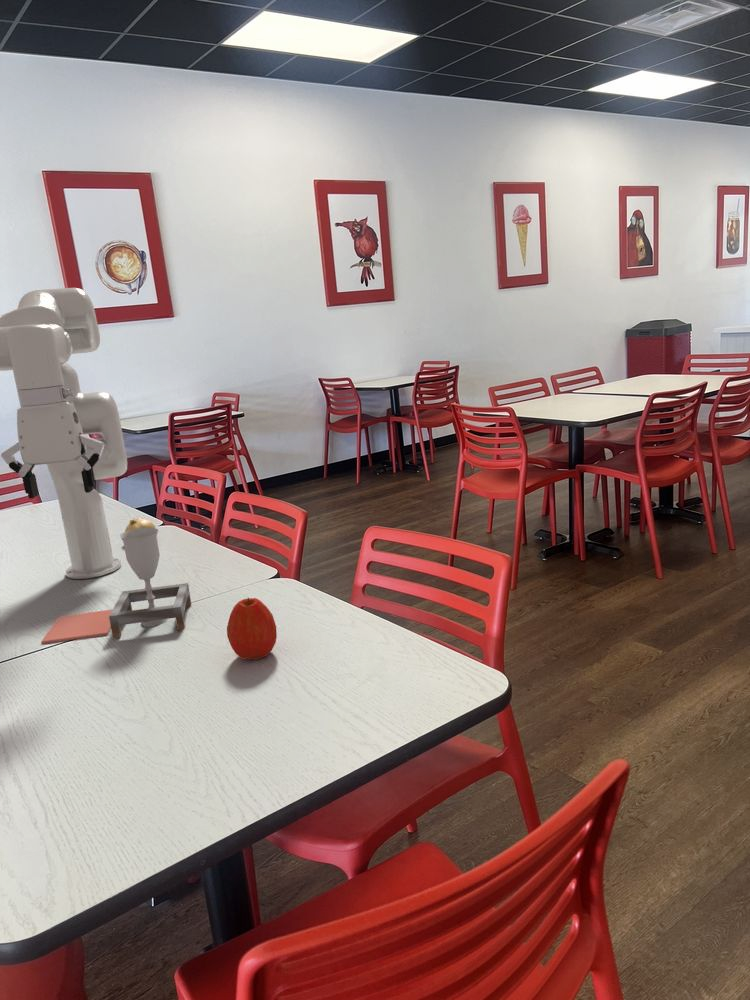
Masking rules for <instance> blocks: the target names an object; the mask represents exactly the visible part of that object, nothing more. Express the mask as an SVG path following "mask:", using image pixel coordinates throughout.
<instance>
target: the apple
mask: <svg viewBox="0 0 750 1000" xmlns="http://www.w3.org/2000/svg"><path fill="white" fill-rule="evenodd" d="M230 612H231V613H230V615H229V618H228V621H227V625H226V634H227V635H226V636H227V639H228V642H229V645H230V647H231V649H232V650H233V652H234V653H235V654H236V655H237V656H238V657H239V658H241V659H244V660H256V659H261V658H264V657H267V656H268V655H269V654H270V653H271V652H272V650H273V649H274V647H275V645H276V643H277V636H278V635H277V624H276V622H275V618H274V616H273V613H272V612H271V611H270V609H269V608H268V607H267V605H265V603H264V602H263V601H261V600H260V599H259V598H257V597H254V598H250V597H247V598H243V599H241V600H239V601H238V602H236V604H235V605H234V606H233V608H232V610H231V611H230Z"/></svg>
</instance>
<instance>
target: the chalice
mask: <svg viewBox="0 0 750 1000" xmlns="http://www.w3.org/2000/svg"><path fill="white" fill-rule="evenodd" d="M155 528H156V527H155ZM155 528H140V529H134V530H130V531H127V532H125V531H124V532H122V533H120V535H119V537H120V539H121V540H122V542H123V547H124V552H125V558H126V559H125V560H126V561H127V563H128V565H129V566H130V569H132V571H133V573H134V574H135V575H136V576H137V578H138V580H141V581H144V585H145V586H144V587H145V588H143V589H144V590H145V591H146V592H147V597H146V599H147V600H146V601H147V603H148V607H147V608H155V607H157V606H156V605H155V603H154V601H155V599H154V598H155V596H153V594H152V589H153V586H152V584H151V579H153V578H154V577H155V574H156V571H157V568H158V565H159V562H160V561H159V560H160V556H161V555H160V549H159V542H158V534H159V533H158V532H159V529H158V528H156V529H155ZM167 621H168V619H163V620H155V621H148V622H140V625H141V626H144V627H154V626H158V625H161V624H163V623H165V622H167Z"/></svg>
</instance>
